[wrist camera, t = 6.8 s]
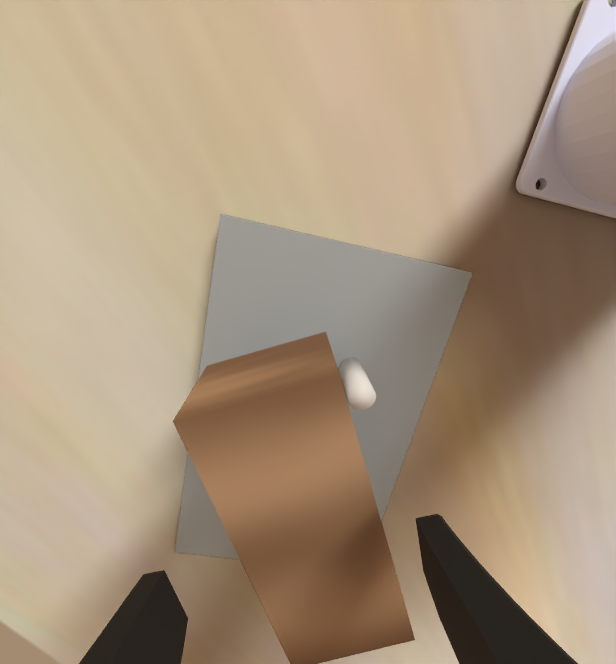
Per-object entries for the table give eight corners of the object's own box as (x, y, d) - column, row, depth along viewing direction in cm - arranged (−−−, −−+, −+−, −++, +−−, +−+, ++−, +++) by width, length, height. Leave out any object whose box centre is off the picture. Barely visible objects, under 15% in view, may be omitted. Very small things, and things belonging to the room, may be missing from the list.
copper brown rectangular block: (387, 546, 17) (414, 639, 13) (293, 570, 17) (293, 669, 13) (325, 331, 13) (339, 374, 9) (206, 365, 13) (173, 421, 10)
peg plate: (460, 269, 17) (513, 282, 13) (358, 556, 23) (372, 627, 19) (225, 215, 16) (202, 211, 12) (180, 534, 21) (155, 606, 17)
